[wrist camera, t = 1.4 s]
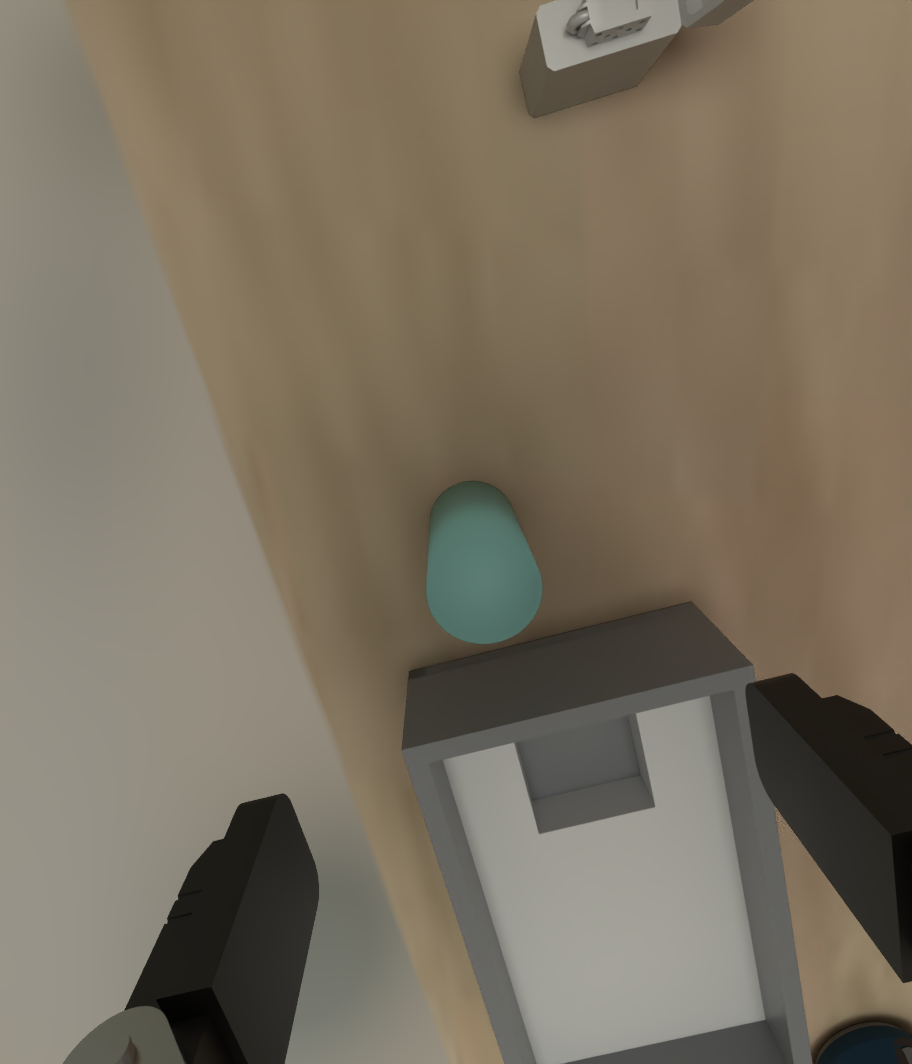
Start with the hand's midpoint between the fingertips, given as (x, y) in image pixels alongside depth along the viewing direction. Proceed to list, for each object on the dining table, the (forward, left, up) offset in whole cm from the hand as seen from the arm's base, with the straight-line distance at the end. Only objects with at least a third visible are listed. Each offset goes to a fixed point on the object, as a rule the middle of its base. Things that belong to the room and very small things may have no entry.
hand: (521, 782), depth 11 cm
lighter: (+5, -17, -18) cm, 25 cm away
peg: (0, 0, -17) cm, 17 cm away
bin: (-14, +10, -17) cm, 25 cm away
